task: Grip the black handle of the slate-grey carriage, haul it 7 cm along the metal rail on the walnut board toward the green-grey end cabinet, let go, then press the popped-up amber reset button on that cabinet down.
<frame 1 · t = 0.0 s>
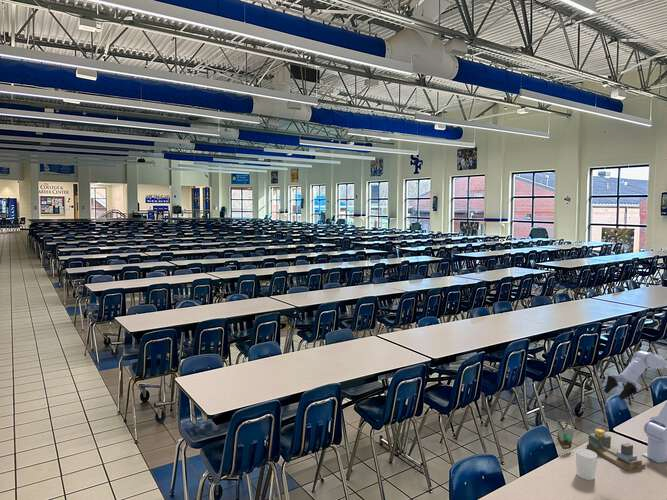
hand: (612, 394, 208), 32 cm above the table, tool tilted 50°, fingers open, 7 cm apart
food container: (566, 445, 230), on the table
white cup: (585, 476, 202), on the table
reset button: (599, 435, 226), point 6 cm above the table, slide at 0.0 cm
rail board: (614, 457, 218), on the table
carriage: (626, 452, 212), point 5 cm above the table, slide at 0.0 cm
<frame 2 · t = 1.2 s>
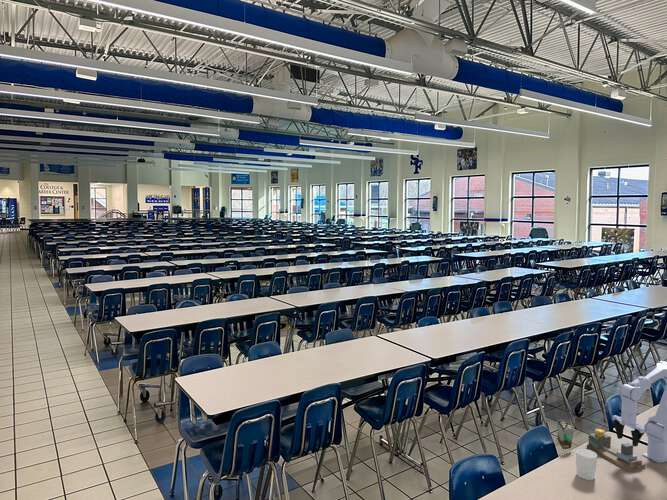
hand: (627, 442, 212), 10 cm above the table, tool pointing down, fingers open, 7 cm apart
nothing on the table moved.
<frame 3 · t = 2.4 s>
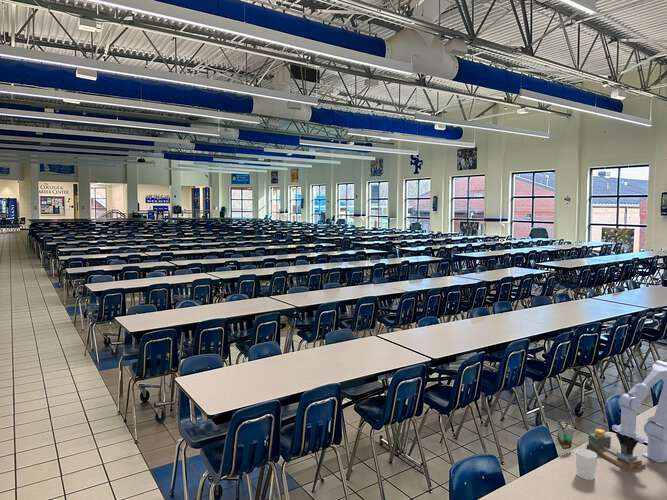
hand: (626, 451, 212), 5 cm above the table, tool pointing down, fingers closed on carriage, 2 cm apart
carriage: (626, 452, 212), point 5 cm above the table, slide at 0.0 cm, touching gripper
everything else where it was.
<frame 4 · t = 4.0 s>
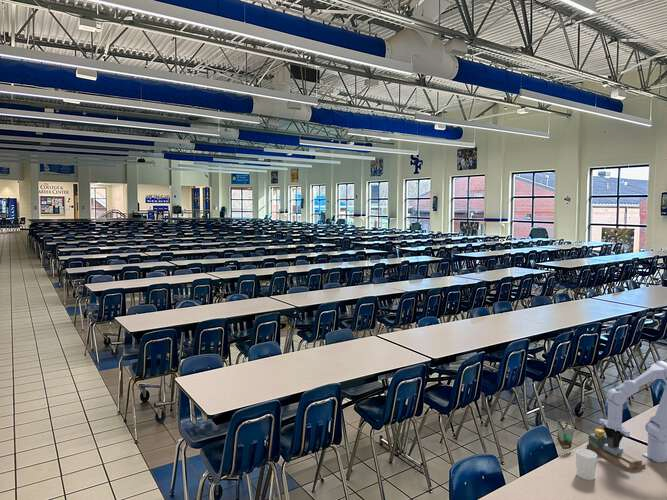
hand: (613, 444, 219), 5 cm above the table, tool pointing down, fingers closed on carriage, 2 cm apart
carriage: (613, 445, 219), point 5 cm above the table, slide at 7.0 cm, touching gripper
everything else where it was.
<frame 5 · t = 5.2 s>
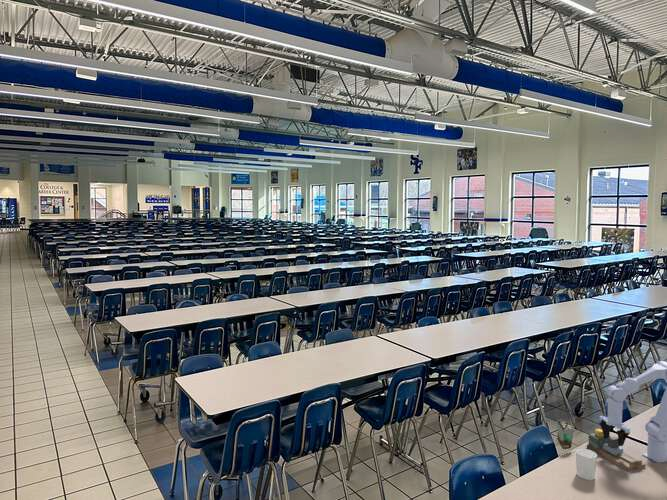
hand: (613, 441, 219), 7 cm above the table, tool pointing down, fingers open, 7 cm apart
carriage: (613, 445, 219), point 5 cm above the table, slide at 7.0 cm
everything else where it was.
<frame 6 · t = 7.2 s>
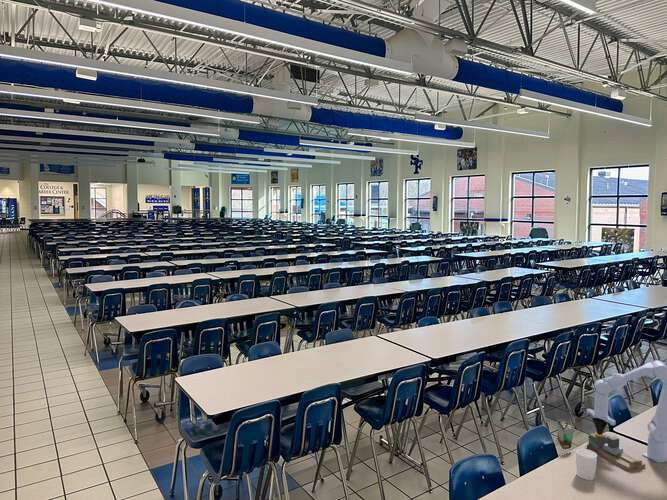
hand: (599, 433, 226), 7 cm above the table, tool pointing down, fingers closed, pressing on reset button
reset button: (599, 438, 226), point 5 cm above the table, slide at 1.5 cm, touching gripper
everything else where it was.
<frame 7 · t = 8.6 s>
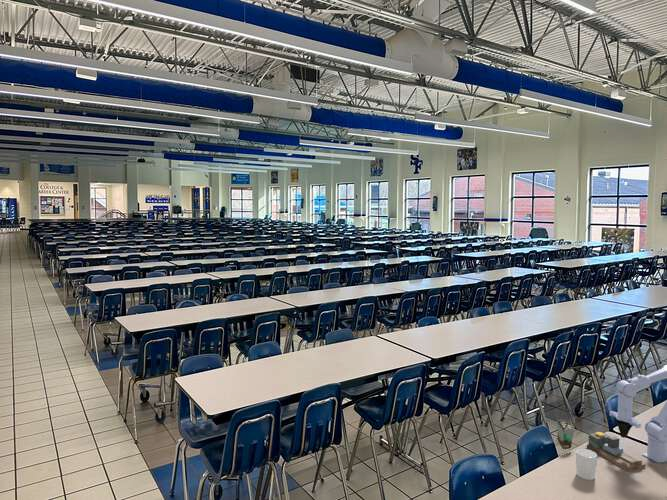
hand: (623, 436, 217), 10 cm above the table, tool pointing down, fingers closed
reset button: (599, 438, 226), point 5 cm above the table, slide at 1.5 cm
everything else where it was.
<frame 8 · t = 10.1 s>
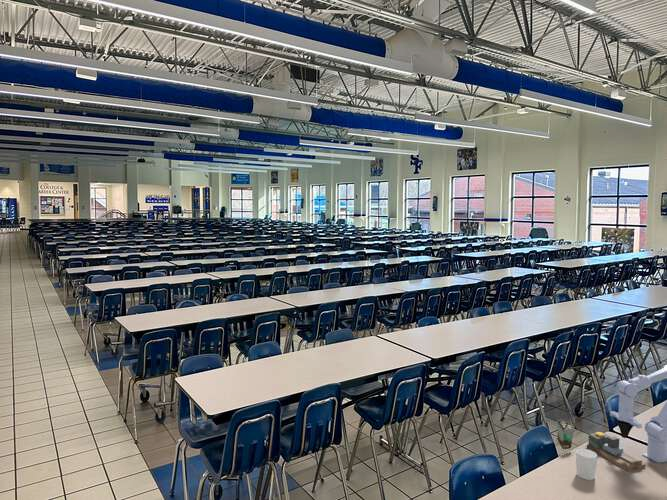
hand: (624, 437, 217), 10 cm above the table, tool pointing down, fingers closed
nothing on the table moved.
at the end: carriage slide at 7.0 cm; reset button slide at 1.5 cm; the gripper is holding nothing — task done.
